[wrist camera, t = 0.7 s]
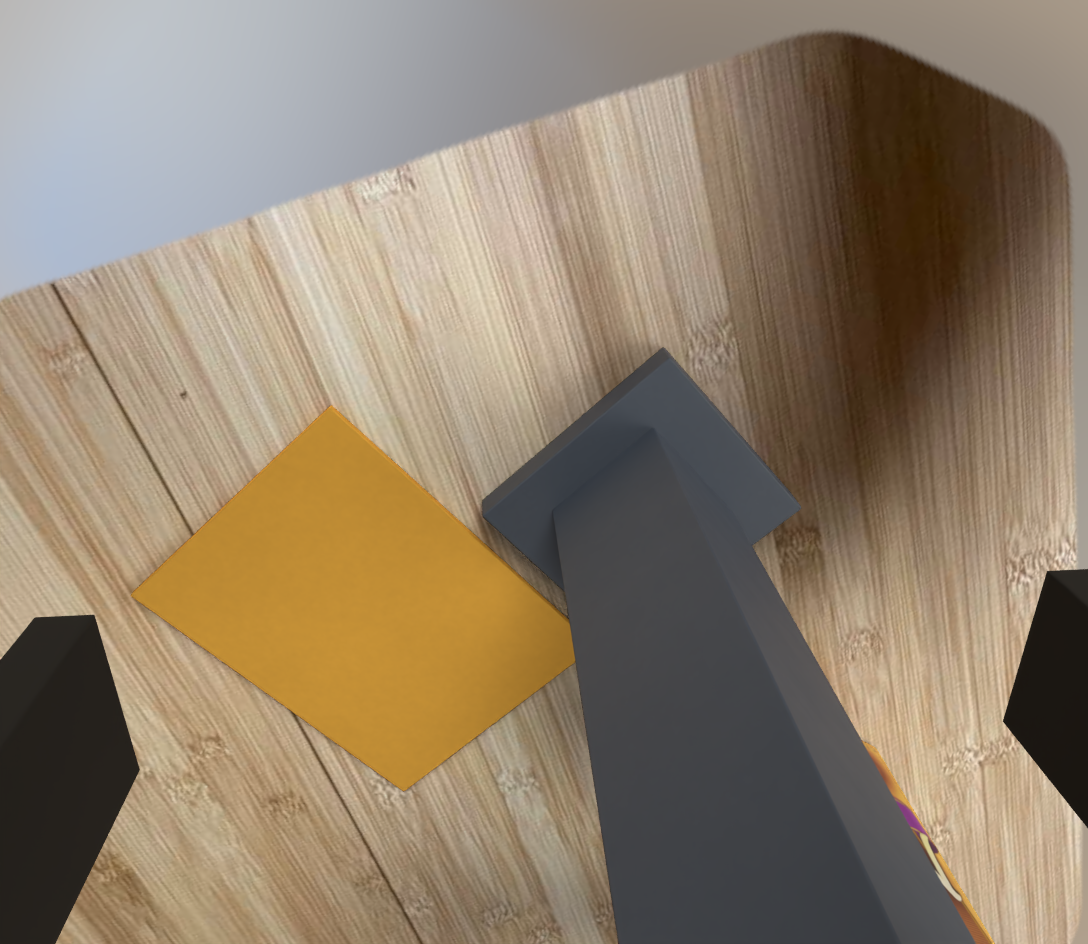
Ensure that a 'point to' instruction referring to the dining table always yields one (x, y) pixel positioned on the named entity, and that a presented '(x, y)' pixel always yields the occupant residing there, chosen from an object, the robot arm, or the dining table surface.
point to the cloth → (362, 605)
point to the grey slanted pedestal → (709, 690)
